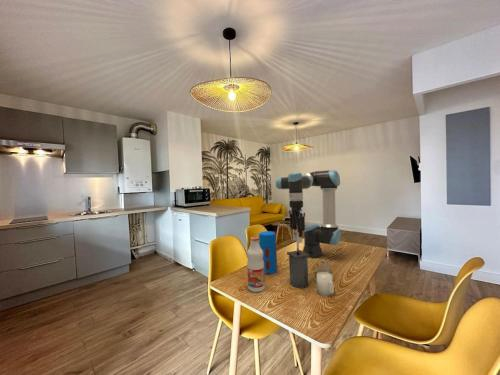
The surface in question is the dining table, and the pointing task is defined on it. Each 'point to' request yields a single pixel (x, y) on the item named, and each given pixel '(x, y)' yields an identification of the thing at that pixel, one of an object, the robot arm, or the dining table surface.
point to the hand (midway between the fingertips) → (297, 241)
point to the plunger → (296, 238)
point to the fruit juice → (255, 266)
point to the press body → (298, 269)
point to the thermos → (268, 251)
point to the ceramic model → (323, 270)
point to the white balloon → (325, 284)
